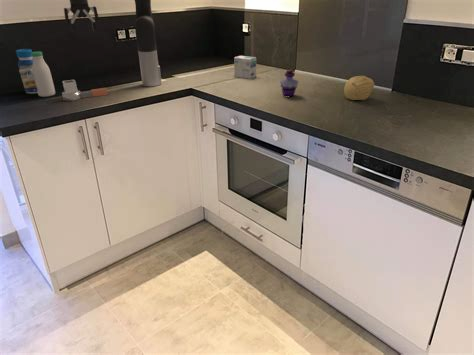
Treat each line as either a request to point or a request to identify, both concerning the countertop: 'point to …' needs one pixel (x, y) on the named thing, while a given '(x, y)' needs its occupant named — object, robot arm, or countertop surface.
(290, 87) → the potion bottle
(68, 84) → the socket
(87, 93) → the ratchet
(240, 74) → the light bulb box
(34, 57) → the milk bottle
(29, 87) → the beverage bottle
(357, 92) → the tan lumpy round lump
